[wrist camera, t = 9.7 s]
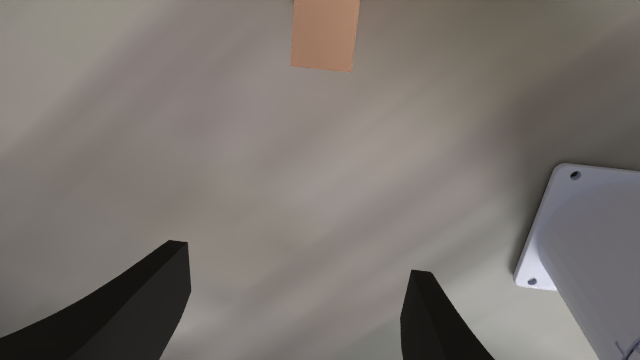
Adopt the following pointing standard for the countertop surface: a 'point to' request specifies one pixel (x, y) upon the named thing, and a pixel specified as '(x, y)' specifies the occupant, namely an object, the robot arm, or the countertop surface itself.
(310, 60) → the terracotta slotted plate
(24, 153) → the countertop surface
